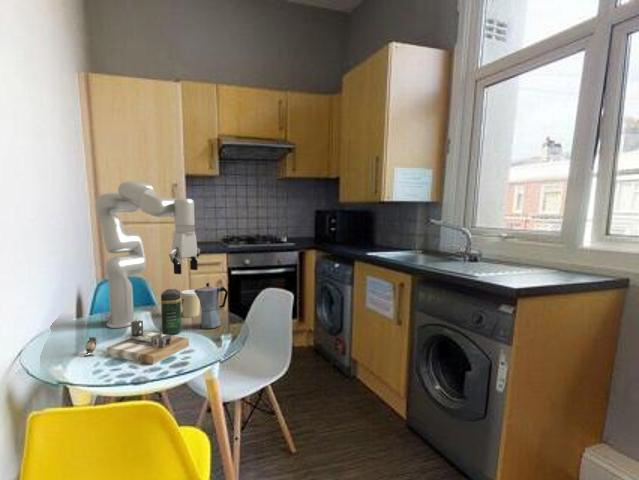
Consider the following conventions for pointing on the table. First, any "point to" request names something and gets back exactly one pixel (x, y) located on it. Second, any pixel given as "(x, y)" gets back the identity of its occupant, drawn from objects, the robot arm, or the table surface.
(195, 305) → the coffee cup
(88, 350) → the vase
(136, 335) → the dark metal knob
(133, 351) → the lock board
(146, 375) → the table surface
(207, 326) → the moka pot
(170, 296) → the coffee jar
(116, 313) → the robot arm
